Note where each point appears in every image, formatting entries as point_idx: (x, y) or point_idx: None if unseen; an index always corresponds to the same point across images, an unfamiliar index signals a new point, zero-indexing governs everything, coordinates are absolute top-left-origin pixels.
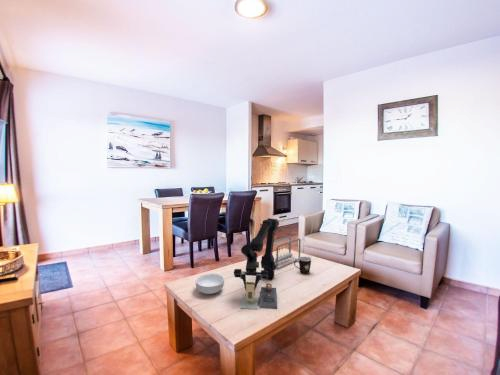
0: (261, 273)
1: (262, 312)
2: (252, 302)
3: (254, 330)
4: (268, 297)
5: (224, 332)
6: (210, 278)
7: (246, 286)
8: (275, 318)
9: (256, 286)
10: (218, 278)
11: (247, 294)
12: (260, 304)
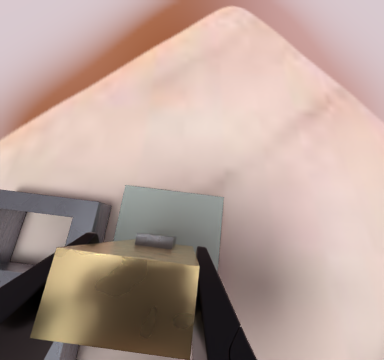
0: None
1: (106, 159)
2: None
3: (163, 47)
4: (15, 277)
5: (277, 42)
6: None
7: (190, 260)
8: (55, 112)
9: None
10: None
11: (179, 248)
12: (100, 203)
